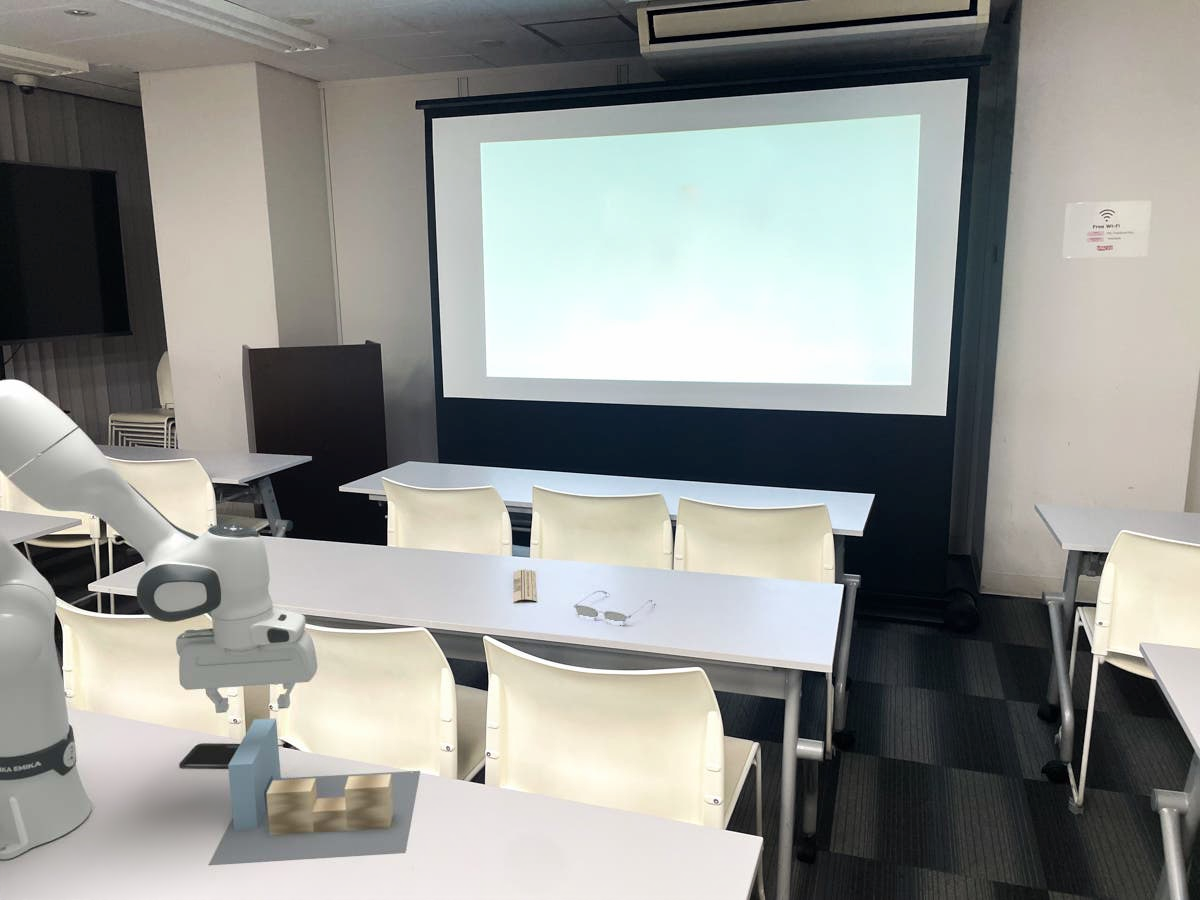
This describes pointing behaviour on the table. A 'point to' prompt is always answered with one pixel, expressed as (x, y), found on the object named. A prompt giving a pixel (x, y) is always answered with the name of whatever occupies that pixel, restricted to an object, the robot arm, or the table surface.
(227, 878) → the table surface
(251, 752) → the blue plate
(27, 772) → the robot arm
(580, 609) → the eyeglasses
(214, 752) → the phone
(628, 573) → the table surface
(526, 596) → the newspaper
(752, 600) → the table surface
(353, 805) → the beech rail
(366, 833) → the mat
